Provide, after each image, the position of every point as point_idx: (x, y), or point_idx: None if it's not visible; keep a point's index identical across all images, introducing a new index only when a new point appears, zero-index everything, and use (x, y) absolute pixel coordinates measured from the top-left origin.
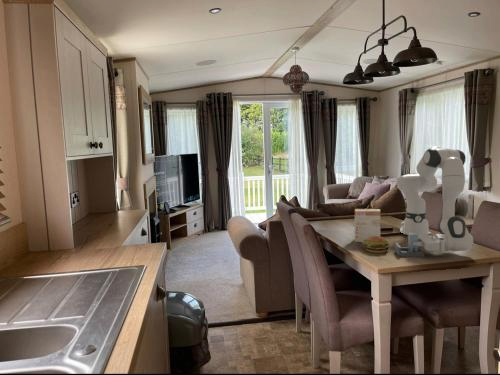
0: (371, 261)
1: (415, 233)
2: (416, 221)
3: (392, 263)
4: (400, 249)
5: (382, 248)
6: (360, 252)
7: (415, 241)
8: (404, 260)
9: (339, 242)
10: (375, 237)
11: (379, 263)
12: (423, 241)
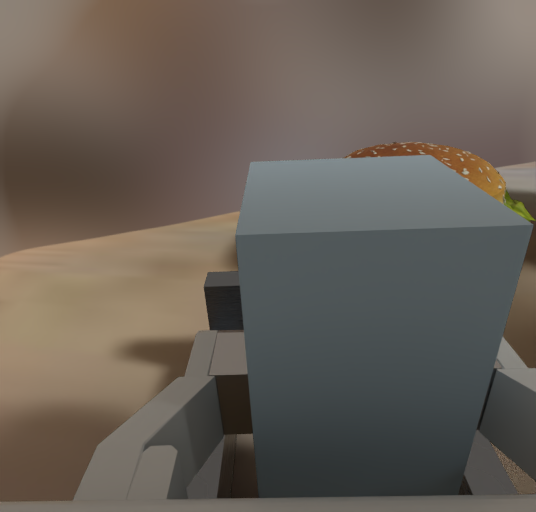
0: (126, 239)
1: (429, 210)
2: None
3: (36, 306)
4: (208, 305)
5: None
6: None
7: (245, 367)
8: (75, 387)
9: None
10: (383, 147)
11: (73, 259)
12: (6, 502)
